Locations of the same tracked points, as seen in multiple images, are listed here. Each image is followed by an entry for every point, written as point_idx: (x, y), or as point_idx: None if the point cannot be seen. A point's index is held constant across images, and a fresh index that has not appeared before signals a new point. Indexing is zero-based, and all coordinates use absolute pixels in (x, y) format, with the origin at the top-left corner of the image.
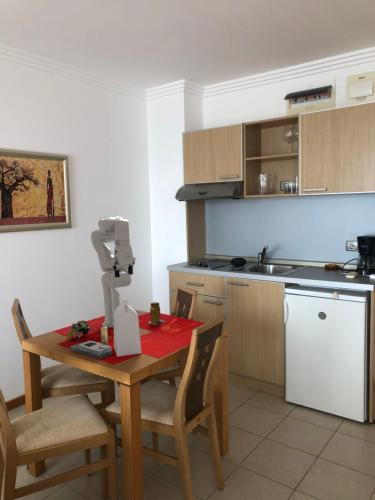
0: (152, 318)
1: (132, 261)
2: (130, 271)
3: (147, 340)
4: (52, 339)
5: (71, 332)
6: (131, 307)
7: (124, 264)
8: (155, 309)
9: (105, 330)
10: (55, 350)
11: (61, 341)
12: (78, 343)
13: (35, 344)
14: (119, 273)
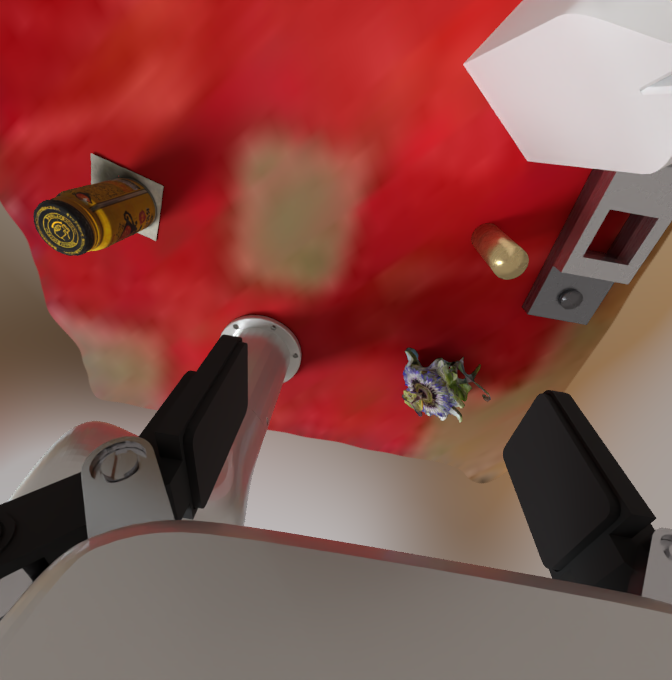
0: (141, 211)
1: (78, 618)
2: (230, 400)
3: (375, 55)
4: (476, 426)
5: (465, 396)
6: (626, 10)
7: (607, 622)
8: (97, 203)
9: (517, 245)
10: (583, 360)
11: None
12: (546, 317)
13: None
14: (585, 440)
